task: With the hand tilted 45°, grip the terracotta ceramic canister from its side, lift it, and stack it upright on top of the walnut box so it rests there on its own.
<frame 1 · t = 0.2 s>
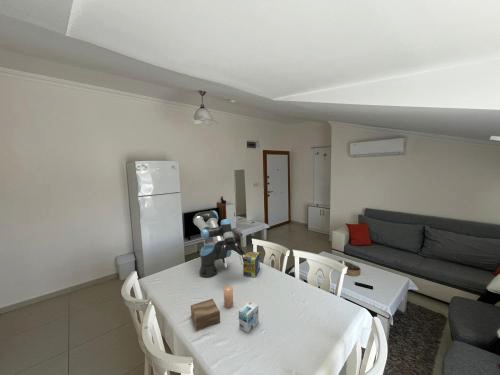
hand: (234, 265, 164), 16 cm above the table, tool tilted 35°, fingers open, 13 cm apart
light bulb box: (249, 325, 125), on the table
protein box: (251, 272, 185), on the table
walnut box: (205, 318, 131), on the table
terracotta canister: (228, 305, 143), on the table
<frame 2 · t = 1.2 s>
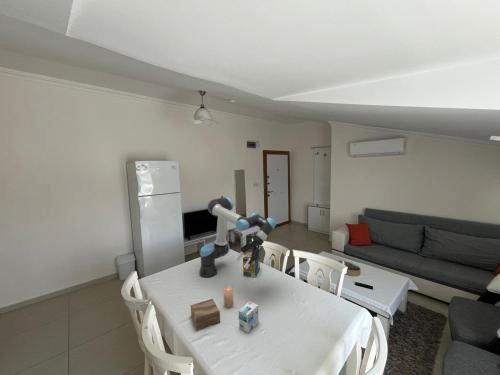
hand: (241, 263, 145), 26 cm above the table, tool tilted 45°, fingers open, 13 cm apart
nothing on the table moved.
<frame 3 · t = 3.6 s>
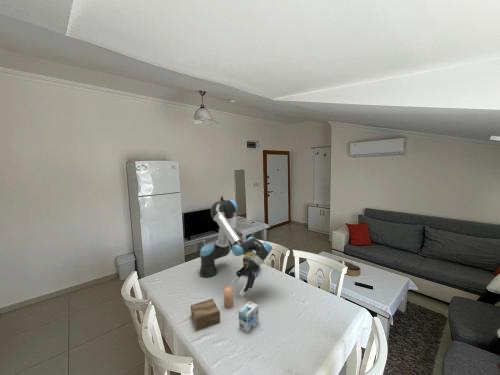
hand: (236, 289, 143), 10 cm above the table, tool tilted 45°, fingers open, 13 cm apart
nothing on the table moved.
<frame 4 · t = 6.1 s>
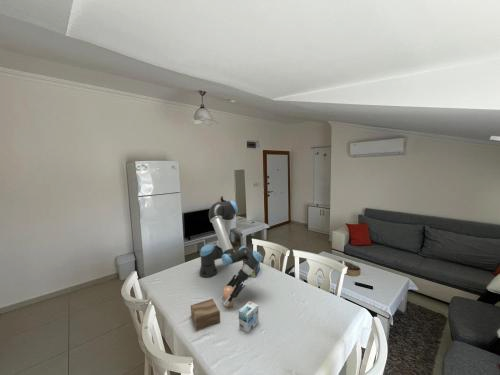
hand: (223, 302, 141), 3 cm above the table, tool tilted 45°, fingers closed on terracotta canister, 6 cm apart
terracotta canister: (228, 305, 143), on the table, touching gripper
everything else where it was.
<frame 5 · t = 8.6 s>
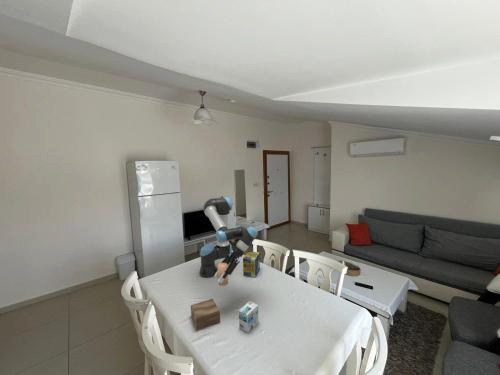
hand: (217, 279, 135), 21 cm above the table, tool tilted 45°, fingers closed on terracotta canister, 6 cm apart
terracotta canister: (223, 283, 137), point 18 cm above the table, touching gripper
everything else where it was.
when the fingers open (12 cm above the table, at t = 11.4 s): terracotta canister drops 1 cm, resting on walnut box.
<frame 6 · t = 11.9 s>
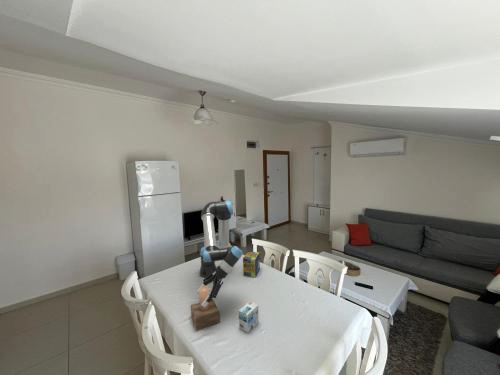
hand: (200, 299, 129), 13 cm above the table, tool tilted 45°, fingers open, 12 cm apart
terracotta canister: (205, 307, 131), point 7 cm above the table, touching walnut box
everything else where it was.
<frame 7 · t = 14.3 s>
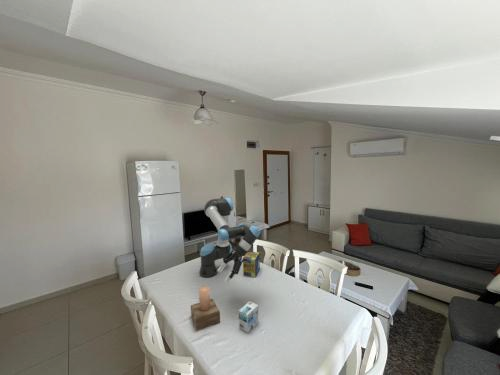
hand: (222, 276, 134), 23 cm above the table, tool tilted 45°, fingers open, 13 cm apart
nothing on the table moved.
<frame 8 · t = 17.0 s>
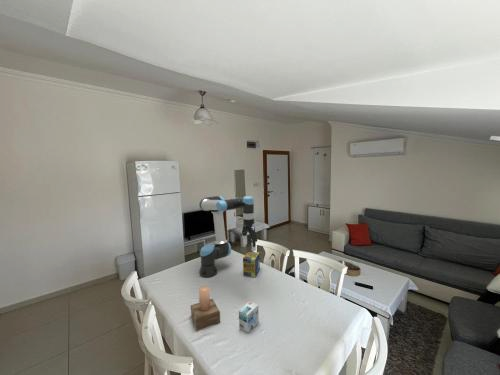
hand: (249, 247, 156), 33 cm above the table, tool pointing down, fingers open, 13 cm apart
nothing on the table moved.
at the end: terracotta canister inside the target area on the walnut box (0.1 cm from its centre), point 7.0 cm above the walnut box's base; terracotta canister tilted 1°; the gripper is holding nothing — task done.
